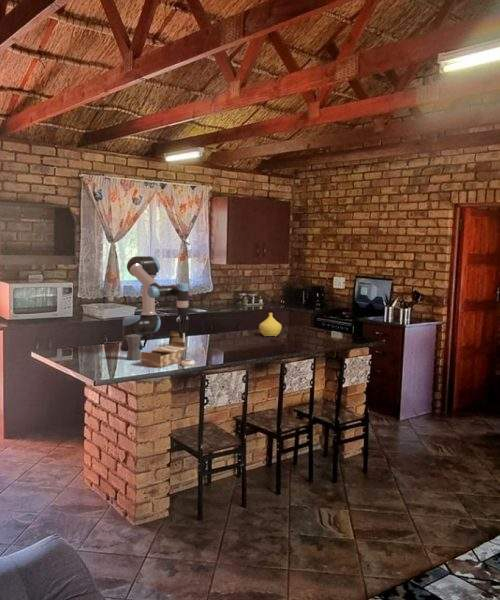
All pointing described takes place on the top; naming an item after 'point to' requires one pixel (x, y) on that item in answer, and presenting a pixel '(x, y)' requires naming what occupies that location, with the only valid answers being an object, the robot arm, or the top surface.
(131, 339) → the coffeepot
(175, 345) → the lid
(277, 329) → the vase
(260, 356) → the top surface
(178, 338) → the wooden mug
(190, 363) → the tape roll
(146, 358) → the box
